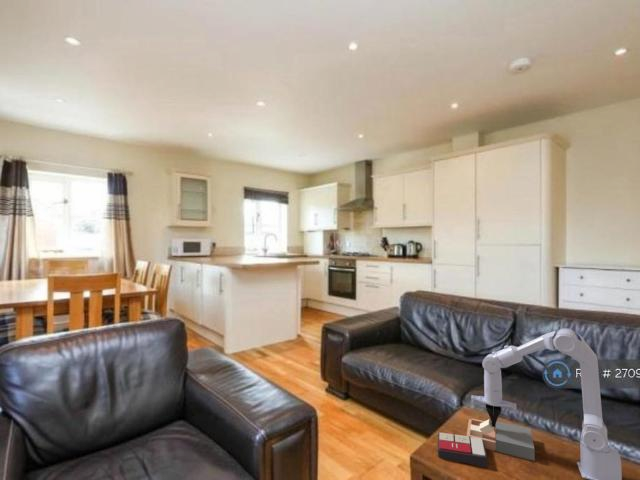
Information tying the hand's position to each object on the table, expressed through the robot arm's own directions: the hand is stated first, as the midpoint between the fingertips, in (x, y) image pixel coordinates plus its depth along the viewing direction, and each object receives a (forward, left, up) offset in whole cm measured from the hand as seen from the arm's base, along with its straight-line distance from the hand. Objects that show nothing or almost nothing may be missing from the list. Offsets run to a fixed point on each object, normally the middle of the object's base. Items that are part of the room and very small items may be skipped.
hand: (493, 425), depth 121 cm
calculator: (+10, +13, -6) cm, 18 cm away
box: (+4, 0, -5) cm, 7 cm away
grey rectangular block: (-6, 0, -5) cm, 8 cm away
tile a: (+2, +1, -2) cm, 2 cm away
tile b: (+6, 0, -2) cm, 6 cm away
